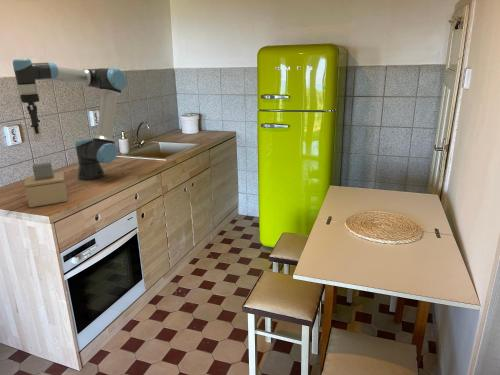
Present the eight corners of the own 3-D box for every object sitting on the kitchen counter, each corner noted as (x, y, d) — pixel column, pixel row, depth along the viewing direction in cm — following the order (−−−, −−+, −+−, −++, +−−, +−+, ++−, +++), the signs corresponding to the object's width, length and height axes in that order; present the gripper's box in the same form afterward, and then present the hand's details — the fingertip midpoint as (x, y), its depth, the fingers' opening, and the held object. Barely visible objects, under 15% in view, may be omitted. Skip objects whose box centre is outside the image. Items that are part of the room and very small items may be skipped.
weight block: (53, 175, 191) (50, 162, 189) (53, 178, 187) (50, 164, 185) (35, 178, 188) (32, 164, 186) (35, 180, 184) (32, 166, 181)
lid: (63, 173, 198) (63, 171, 198) (64, 181, 184) (64, 179, 184) (26, 178, 191) (25, 176, 191) (24, 187, 177) (23, 185, 177)
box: (66, 191, 201) (63, 174, 198) (68, 201, 188) (64, 182, 185) (30, 197, 194) (26, 179, 191) (29, 207, 181) (24, 187, 177)
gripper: (20, 92, 186) (30, 134, 193) (18, 96, 165) (29, 143, 172) (37, 91, 189) (46, 132, 196) (37, 94, 168) (47, 141, 176)
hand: (38, 137), depth 184 cm, fingers open, 13 cm apart
